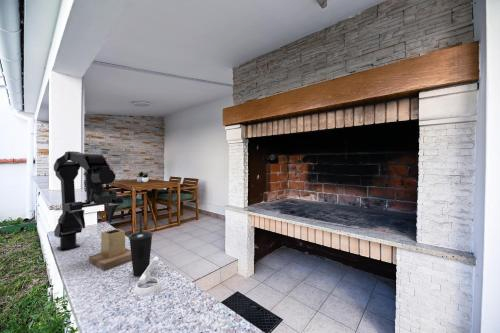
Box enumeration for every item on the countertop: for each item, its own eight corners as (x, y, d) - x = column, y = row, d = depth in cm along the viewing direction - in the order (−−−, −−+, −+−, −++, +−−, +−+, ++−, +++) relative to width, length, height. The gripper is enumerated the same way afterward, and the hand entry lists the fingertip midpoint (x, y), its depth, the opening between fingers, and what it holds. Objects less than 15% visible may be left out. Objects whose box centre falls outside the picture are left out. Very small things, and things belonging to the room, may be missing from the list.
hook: (170, 278, 63) (148, 267, 61) (148, 307, 64) (126, 297, 63) (176, 261, 70) (157, 251, 68) (156, 288, 71) (137, 278, 70)
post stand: (89, 262, 84) (88, 246, 84) (121, 252, 94) (120, 237, 94) (104, 270, 77) (103, 252, 77) (136, 258, 88) (136, 242, 87)
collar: (101, 255, 85) (101, 232, 85) (117, 250, 90) (117, 228, 90) (109, 258, 81) (108, 235, 81) (125, 253, 87) (124, 230, 86)
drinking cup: (158, 270, 78) (157, 214, 78) (141, 280, 71) (140, 219, 70) (141, 266, 80) (141, 213, 80) (123, 277, 73) (122, 218, 73)
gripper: (75, 186, 74) (78, 232, 73) (129, 182, 90) (132, 220, 89) (62, 188, 79) (64, 231, 79) (115, 184, 95) (117, 219, 95)
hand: (97, 225), depth 85 cm, fingers open, 9 cm apart
